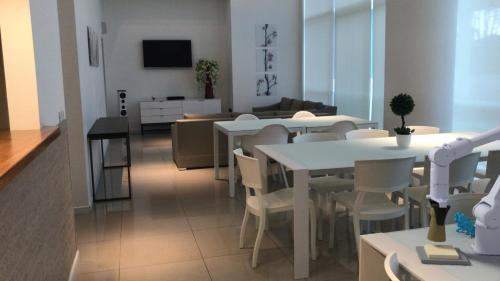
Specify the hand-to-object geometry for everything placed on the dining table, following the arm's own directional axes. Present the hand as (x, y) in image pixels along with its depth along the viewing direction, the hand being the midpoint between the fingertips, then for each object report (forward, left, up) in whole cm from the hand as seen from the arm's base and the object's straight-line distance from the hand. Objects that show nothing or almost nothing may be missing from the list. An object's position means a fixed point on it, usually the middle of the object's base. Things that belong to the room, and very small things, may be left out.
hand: (438, 222), depth 160 cm
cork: (+1, 0, -6) cm, 6 cm away
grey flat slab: (0, +4, -10) cm, 11 cm away
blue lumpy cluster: (-14, -20, -11) cm, 26 cm away
